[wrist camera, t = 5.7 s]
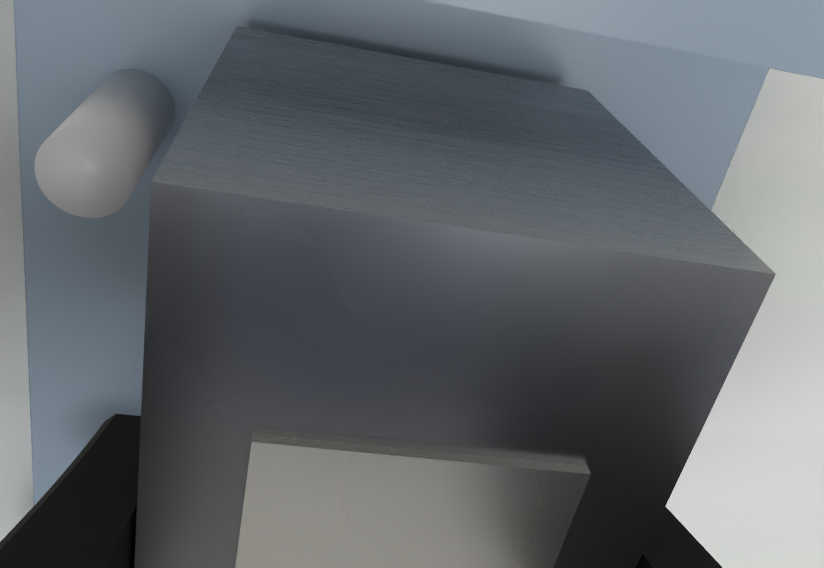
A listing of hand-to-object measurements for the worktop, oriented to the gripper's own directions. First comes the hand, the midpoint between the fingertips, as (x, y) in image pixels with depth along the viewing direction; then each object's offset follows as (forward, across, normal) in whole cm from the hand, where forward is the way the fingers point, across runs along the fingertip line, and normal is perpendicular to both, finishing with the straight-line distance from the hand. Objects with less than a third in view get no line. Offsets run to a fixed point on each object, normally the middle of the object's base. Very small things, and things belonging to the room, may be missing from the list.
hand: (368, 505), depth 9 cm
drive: (+3, 0, 0) cm, 3 cm away
